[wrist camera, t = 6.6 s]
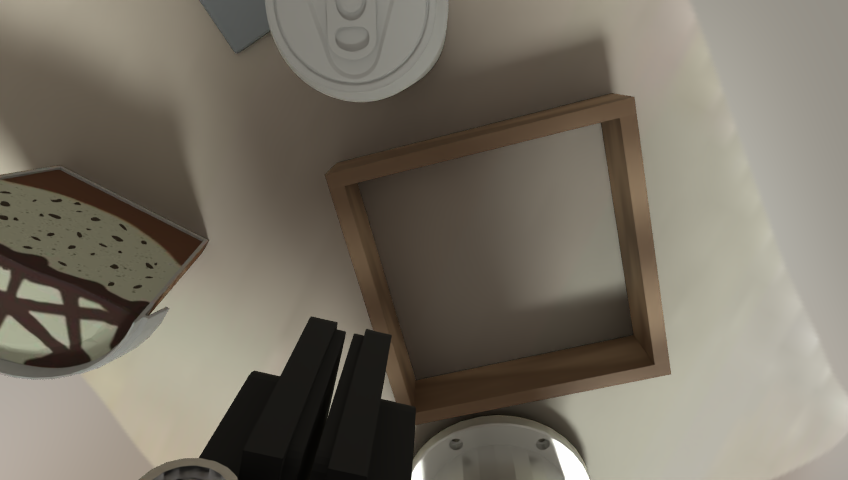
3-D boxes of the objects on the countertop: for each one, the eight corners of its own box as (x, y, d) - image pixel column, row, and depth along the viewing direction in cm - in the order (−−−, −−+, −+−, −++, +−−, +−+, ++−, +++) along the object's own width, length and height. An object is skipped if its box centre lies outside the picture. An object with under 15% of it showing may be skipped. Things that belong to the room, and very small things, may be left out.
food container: (6, 240, 33) (-171, 312, 23) (34, 152, 31) (-144, 191, 22) (194, 331, 34) (101, 433, 25) (231, 251, 33) (146, 328, 23)
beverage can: (446, -40, 28) (449, -115, 16) (446, 90, 30) (448, 103, 18) (323, -37, 28) (241, -110, 17) (331, 91, 30) (262, 105, 19)
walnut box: (648, 343, 34) (670, 374, 30) (407, 393, 35) (403, 427, 32) (611, 93, 29) (634, 96, 26) (337, 162, 31) (324, 174, 27)
